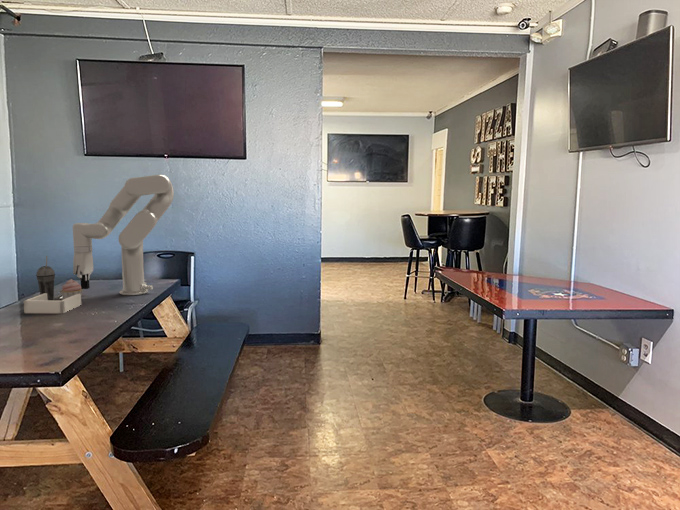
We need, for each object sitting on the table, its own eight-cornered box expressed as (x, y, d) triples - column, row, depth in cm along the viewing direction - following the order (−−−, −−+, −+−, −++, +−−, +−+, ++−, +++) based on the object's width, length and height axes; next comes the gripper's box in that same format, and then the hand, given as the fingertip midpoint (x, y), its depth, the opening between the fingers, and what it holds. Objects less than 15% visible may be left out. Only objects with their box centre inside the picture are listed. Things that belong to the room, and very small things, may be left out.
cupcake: (74, 303, 212) (73, 281, 211) (55, 302, 214) (53, 280, 212) (88, 299, 221) (87, 277, 220) (70, 298, 223) (69, 276, 221)
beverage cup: (33, 301, 215) (30, 256, 212) (48, 298, 222) (45, 254, 219) (46, 303, 213) (43, 257, 210) (60, 299, 220) (57, 255, 217)
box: (81, 305, 210) (80, 293, 209) (63, 313, 196) (62, 301, 195) (45, 304, 210) (44, 293, 209) (24, 313, 196) (23, 300, 195)
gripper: (83, 247, 234) (85, 285, 236) (66, 251, 219) (68, 291, 221) (99, 247, 234) (101, 285, 236) (83, 251, 219) (85, 292, 221)
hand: (85, 288), depth 229 cm, fingers closed
